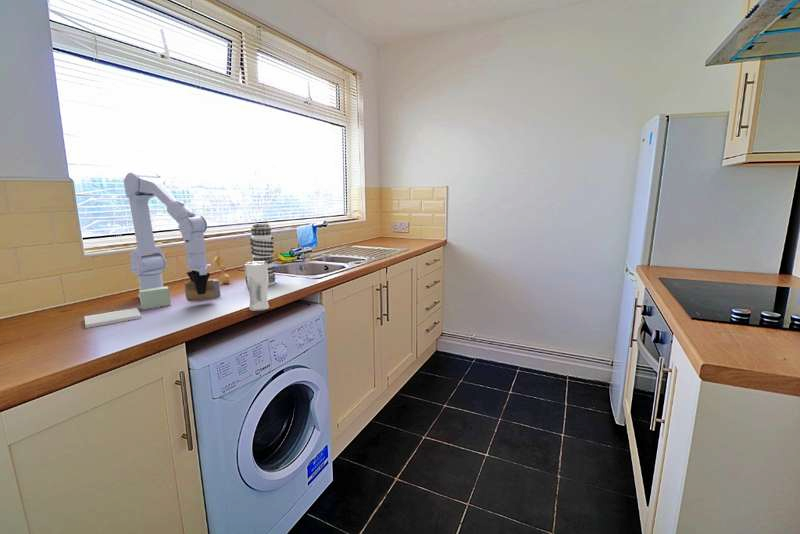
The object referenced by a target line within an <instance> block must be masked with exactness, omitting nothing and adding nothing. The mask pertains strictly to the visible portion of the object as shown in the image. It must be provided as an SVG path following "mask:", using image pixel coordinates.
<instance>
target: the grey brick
mask: <svg viewBox="0 0 800 534" xmlns="http://www.w3.org/2000/svg"><path fill="white" fill-rule="evenodd" d="M211 279H212V278H211ZM212 280H213V283H214V292H215V297H214V298H217V297H221V289H220V287H221V286H220V281H219V280H220V279H218V278H213V279H212Z"/></svg>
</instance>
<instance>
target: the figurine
mask: <svg viewBox="0 0 800 534" xmlns="http://www.w3.org/2000/svg"><path fill="white" fill-rule="evenodd" d="M213 259H214V260H213V261H212V263H213V266H214V268H215V269H218V268H219V269H220V274H221V276H220V279H219V280H220V282H221V283H222V284H224V285H226V284H229V283H231V279H232V278H231V277H232V276H230V275H229V274H227V273H225V269H226V266H228V265H227V263H226V261H224V260H223V259H222V257H221V255H220V254H219V255H217V256H215V257H213ZM221 262H222V263H224V264H225V266H224V265H223V264H222V263H221ZM216 265H217V266H216Z"/></svg>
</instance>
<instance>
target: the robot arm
mask: <svg viewBox="0 0 800 534" xmlns="http://www.w3.org/2000/svg"><path fill="white" fill-rule="evenodd" d="M123 185H124V190H125V195H126V198H127V199H128V201H129V207H130V212H131V219H132V224H133V230H134V235H135V240H136V241H135V242H136V246H137V247H136V248H135V249H133V251H131V252H130V253H129V257H130V262H129V267H130V270H131V272H133V273H134V274H135V275H136V276H137V277H138V278H137V280H138V286H139V290H144V289H151V288H158V287H164V281H163V272H164V270H165V269H166V267H167V259H166V257H165V256H164V252H163V249H161V248H159V247H158V246H157V245H156V244H155V243H156V242H155V237H154V232H153V226H152V225H153V224H152V220H151V214H150V208H149V201H150V200H151V199H152V198H154V197H156V198H157V199H158V200H159V201H160V202H161V203H163V205H165V206H166V212H167V213H168V214H169V216H170V217H172V219H173V220H175V222H176V223H177V224H178V226H177V227H178V229H179V232H180V233H181V238H182V241H183V240H184V247H185V256H186V257H185V258H186V264H187V266H186V270H188V271H187V272H186V275H187V276H188V278H189V279H190V281H194V283H195V286H196V290H197V293H198V294H199V295H200V294H205V293H206V286H207V281H208V279H210V276H211V273H210V272H207V269H208V268H211V267H212V265H211V264H210V263H208V262H207V254H206V244H205V234H204V233H205V232H207V228H208V224H207V221H206V218H205V217H204V216H203V215H198V214H196V213H194V212H193V211H192V209H191V208H190V207H189V206H187V204H186V203H185V201H182V200H178V199H176V198H175V197H174V195H173V194H172V193H171V192H170V191H169V190H168V188H167V187H166V183H165V179H164V178H163V177H162V176H161V175H160V174H159V173H139V172H136V173H135V172H129V173H127V174H126V175H125V177H124V179H123ZM137 297H138V298H139V299H140V295H139V294H137Z"/></svg>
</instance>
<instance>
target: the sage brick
mask: <svg viewBox="0 0 800 534" xmlns="http://www.w3.org/2000/svg"><path fill="white" fill-rule="evenodd" d="M138 295H140V298H139V300H140V308H141V310H143V309H145V310H148V308H151V309H154V308H153V307H157V308H161V307H160V306H163V307H167V305H169V306H172V303H171V295H170V288H169V286H166V285H165V286H163V287H158V288H151V289H144V290H140V289H139V290H138Z"/></svg>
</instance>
